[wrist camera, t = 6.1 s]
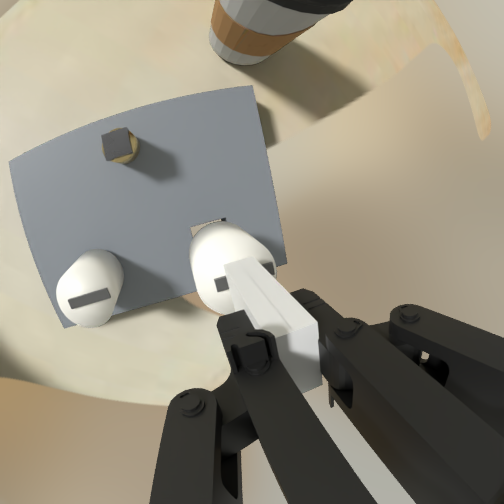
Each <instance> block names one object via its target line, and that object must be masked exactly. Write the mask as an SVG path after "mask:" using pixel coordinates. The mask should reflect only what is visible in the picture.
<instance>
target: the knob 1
mask: <svg viewBox="0 0 504 504" xmlns="http://www.w3.org/2000/svg"><path fill="white" fill-rule="evenodd" d="M123 281H124V273H123V269H122V266H121V264H120V262H119V261H118V259H117V258H116V257H115V256H114V255H113V254H111V253H110V252H108V251H106V250H103V249H92V250H89V251H87V252H85V253H84V254H82V255H81V256H80V257H79V258H78V260H77V261H76V262H75V263H74V264H73V265H72V266H71V267H70V268H69V269H68V270H67V271H66V272H65V273H64V275H63V276H62V277H61V278H60V280H59V282H58V284H57V289H56V296H57V301H58V304H59V307H60V309H61V311H62V312H63V313H64V315H65V316H66V317H67V318H68V319H69V320H70V321H72V322H73V323H75V324H77V325H79V326H82V327H87V328H94V327H98V326H101V325H103V324H104V323H106V322H107V321H108V320H109V319H110V317H111V315H112V313H113V310H114V307H115V304H116V301H117V299H118V296H119V293H120V290H121V287H122V285H123Z"/></svg>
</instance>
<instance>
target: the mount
mask: <svg viewBox="0 0 504 504" xmlns="http://www.w3.org/2000/svg"><path fill="white" fill-rule="evenodd" d="M124 127H127V128H128V129H129V131H130V132H131V133H132V134H133V135H134V136H135V137H136V138H137V139H138V141H139V143H140V151H139V154H138V156H137V157H136V159H135V160H133V161H132V162H130V163H127V164H121V163H116V162H112V161H106V158H105V156H104V154H103V152H102V138H101V135H103V134H106V133H109V132H110V131H111V130H113V129H116V128H124ZM9 167H10V172H11V178H12V183H13V188H14V193H15V197H16V201H17V205H18V209H19V213H20V217H21V221H22V224H23V228H24V231H25V234H26V238H27V241H28V244H29V247H30V250H31V253H32V255H33V258H34V261H35V264H36V266H37V269H38V272H39V274H40V277H41V279H42V282H43V284H44V286H45V289H46V291H47V293H48V296H49V298H50V300H51V302H52V305H53V307H54V309H55V311H56V313H57V315H58V317H59V319H60V321H61V323H62V325H63V327H64V328H67V327H71V326H75V325H77V324H75V323H73V322H72V321H70V320H69V319H68V318H67V317H66V316H65V315H64V313H63V312H62V311H61V309H60V307H59V304H58V301H57V296H56V289H57V284H58V282H59V280H60V278H61V277H62V276H63V275H64V273H65V272H66V271H67V270H68V269H69V268H70V267H71V266H72V265H73V264H74V263H75V262H76V261H77V260H78V258H79V257H80V256H81V255H82V254H84V253H85V252H87V251H89V250H92V249H103V250H106V251H108V252H109V251H110V253H111V254H113V255H114V256H115V257H116V258H117V259H118V261H119V262H120V264H121V266H122V269H123V273H124V281H123V285H122V287H121V290H120V293H119V296H118V299H117V301H116V304H115V307H114V310H113V313H112V315H116V314H119V313H123V312H126V311H130V310H134V309H137V308H141V307H144V306H148V305H151V304H155V303H158V302H162V301H165V300H169V299H172V298H175V297H179V296H182V295H186V294H189V293H192V292H196V291H197V288H196V284H195V280H194V276H193V272H192V268H191V264H190V260H189V248H190V244H191V241H192V239H193V237H192V233H191V230H190V227H193V226H196V225H200V224H203V223H207V222H211V221H214V220H218V219H221V221H225V222H231V223H233V224H236V225H238V226H239V227H241V228H242V229H243V230H244V231H246V232H247V233H248V234H250V235H251V236H252V237H253V238H255V239H256V240H257V241H259V242H260V243H261V244H262V245H264V246H265V247H266V248H267V249H268V250H269V252H270V253H271V255H272V256H273V258H274V261H275V264H276V267H278V266H281V265H284V264H287V258H286V253H285V247H284V241H283V235H282V230H281V224H280V218H279V213H278V207H277V203H276V197H275V191H274V186H273V181H272V176H271V171H270V166H269V161H268V156H267V151H266V146H265V141H264V136H263V132H262V127H261V122H260V118H259V113H258V108H257V104H256V99H255V95H254V91H253V86H252V85H250V86H241V87H234V88H227V89H220V90H214V91H208V92H202V93H197V94H192V95H187V96H182V97H178V98H173V99H169V100H165V101H161V102H157V103H153V104H149V105H146V106H142V107H139V108H135V109H132V110H129V111H125V112H122V113H119V114H116V115H113V116H110V117H107V118H104V119H101V120H98V121H96V122H93V123H90V124H88V125H85V126H83V127H80V128H78V129H75V130H73V131H70V132H68V133H65V134H63V135H61V136H59V137H56V138H54V139H52V140H50V141H48V142H46V143H43V144H41V145H39V146H37V147H35V148H33V149H31V150H29V151H27V152H25V153H24V154H22V155H20V156H18V157H16V158H14V159H13V160H11V161H9ZM112 315H111V316H112Z"/></svg>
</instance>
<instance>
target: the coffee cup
mask: <svg viewBox="0 0 504 504" xmlns="http://www.w3.org/2000/svg"><path fill="white" fill-rule="evenodd" d="M351 1H353V0H215V5H214V9H213V14H212V19H211V28H210V33H209V40H210V44H211V46H212V48H213V50H214V51H215V52H216V53H217V54H218V55H219V56H220V57H221V58H223V59H225V60H226V61H228V62H231V63H234V64H239V65H253V64H256V63H260V62H261V61H263V60H265V59H266V58H268V57H269V56H270V55H272V54H273V53H275V52H277V51H278V50H280V49H281V48H282V47H284V46H285V45H287V44H288V43H289V42H291V41H292V40H294V39H295V38H296V37H298V36H299V35H301V34H302V33H304V32H305V31H307V30H308V29H310V28H311V27H313V26H314V25H315V24H316V23H317V22H318V21H320V20H321V19H323V18H324V17H326V16H328V15H329V14H333V13H336V12H338V11H341V10H343V9H344V8H345V7H346V6H347V5H348V4H350V2H351Z"/></svg>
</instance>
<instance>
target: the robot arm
mask: <svg viewBox="0 0 504 504" xmlns="http://www.w3.org/2000/svg"><path fill="white" fill-rule="evenodd" d="M223 267H224V270H225V274H226V278H227V282H228V286H229V289H230V293H231V297H232V301H233V304H234V308H235V312H234V313H230V314H227V315H224V316H221V317H219V320H218V322H217V328H218V331H219V334H220V337H221V340H222V343H223V346H224V349H225V352H226V355H227V358H228V361H229V363H230V366H231V373H230V376H229V377H228V379H227V380H226V381H225V382H224V384H222V385H221V386H220V387H218V388H216V389H215V390H213V391H211V392H210V391H208V390H205V389H202V388H193V389H189V390H185V391H183V392H181V393H179V394H177V395H176V396H175V397H174V398H173V399H172V400H171V402H170V404H169V407H168V410H167V415H166V420H165V424H164V429H163V433H162V438H161V443H160V448H159V454H158V458H157V464H156V469H155V474H154V480H153V485H152V491H151V497H150V503H149V504H243V498H242V472H241V450H242V449H243V448H245V447H247V446H248V445H250V444H251V443H253V442H254V441H256V440H257V439H259V441H260V443H261V446H262V448H263V450H264V453H265V455H266V457H267V459H268V462H269V464H270V466H271V468H272V471H273V473H274V475H275V477H276V479H277V482H278V484H279V486H280V488H281V490H282V492H283V494H284V496H285V498H286V500H287V503H288V504H377V502H376V501H375V500H374V498H373V497H372V495H371V494H370V493H369V491H368V490H367V489H366V487H365V486H364V485H363V483H362V482H361V480H360V479H359V477H358V476H357V475H356V473H355V472H354V470H353V469H352V467H351V466H350V465H349V463H348V462H347V460H346V459H345V457H344V456H343V454H342V453H341V452H340V450H339V449H338V447H337V446H336V444H335V443H334V441H333V440H332V438H331V437H330V435H329V434H328V433H327V431H326V430H325V428H324V427H323V425H322V424H321V422H320V421H319V419H318V418H317V416H316V415H315V413H314V412H313V410H312V408H311V407H310V405H309V404H308V402H307V401H306V399H305V398H304V396H303V395H302V393H304V392H307V391H309V390H312V389H314V388H316V387H318V386H320V385H322V375H323V376H324V377H325V378H326V380H327V381H328V386H329V404H330V407H331V408H332V407H333V406H334V400H335V401H336V402H337V404H338V405H339V406H340V408H341V409H342V410H343V412H344V413H345V414H346V415H347V417H348V418H349V419H350V421H351V422H352V423H353V425H354V426H355V427H356V429H357V430H358V431H359V432H360V434H361V435H362V436H363V438H364V439H365V440H366V441H367V443H368V444H369V445H370V447H371V448H372V449H373V450H374V452H375V453H376V454H377V455H378V457H379V458H380V459H381V461H382V462H383V463H384V464H385V465H386V467H387V468H388V469H389V471H390V472H391V473H392V474H393V476H394V477H395V478H396V479H397V481H398V482H399V483H400V484H401V486H402V487H403V488H404V489H405V490H406V492H407V493H408V494H409V495H410V497H411V498H412V499H413V500H414V501H415V503H416V504H504V338H502V337H500V336H498V335H495V334H492V333H490V332H487V331H485V330H482V329H479V328H477V327H474V326H471V325H469V324H466V323H464V322H461V321H458V320H456V319H453V318H450V317H448V316H445V315H442V314H440V313H437V312H434V311H432V310H429V309H426V308H424V307H421V306H418V305H413V304H405V305H400V306H398V307H396V308H394V309H393V310H392V311H391V313H390V321H388V322H384V323H380V324H375V325H368V324H366V323H365V322H363V321H361V320H360V319H355V318H343V317H342V316H341V315H340V314H339V313H338V312H336V311H335V310H334V309H333V308H332V307H331V306H329V305H328V304H327V303H325V302H324V300H322V299H320V297H319V296H317V294H315V293H314V292H312V291H309V290H306V289H300V290H297V291H294V292H291V293H288V291H287V290H286V289H284V287H283V286H281V284H280V283H279V282H278V281H277V280H276V279H275V278H274V277H273V276H272V275H271V274H270V273H269V272H268V271H267V270H266V269H265V268H264V267H263V266H262V265H261V264H260V263H259V262H258V261H257V260H256V259H255V258H254V257H253V256H251V257H247V258H244V259H240V260H237V261H234V262H230V263H227V264H223ZM422 351H424V352H426V353H428V354H429V358H428V359H426V360H425V359H422V358H421V356H422Z"/></svg>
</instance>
